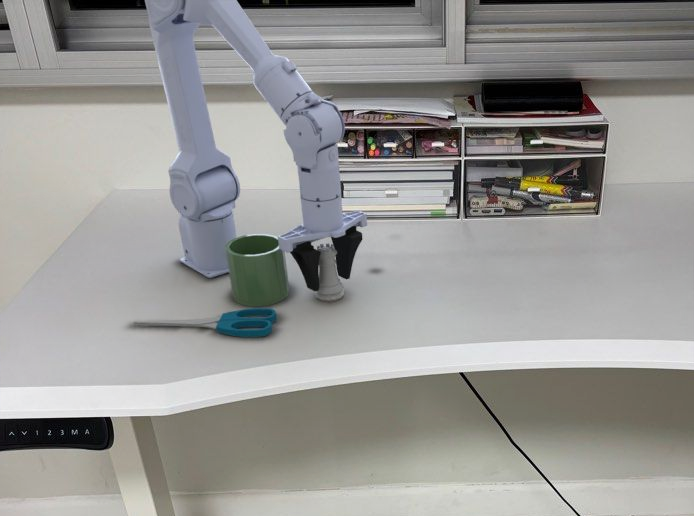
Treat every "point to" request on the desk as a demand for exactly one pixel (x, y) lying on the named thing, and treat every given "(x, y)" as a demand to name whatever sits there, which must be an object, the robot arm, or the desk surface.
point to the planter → (257, 270)
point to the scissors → (229, 322)
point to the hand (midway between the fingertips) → (328, 282)
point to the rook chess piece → (328, 275)
